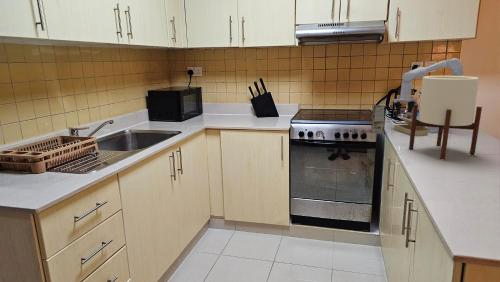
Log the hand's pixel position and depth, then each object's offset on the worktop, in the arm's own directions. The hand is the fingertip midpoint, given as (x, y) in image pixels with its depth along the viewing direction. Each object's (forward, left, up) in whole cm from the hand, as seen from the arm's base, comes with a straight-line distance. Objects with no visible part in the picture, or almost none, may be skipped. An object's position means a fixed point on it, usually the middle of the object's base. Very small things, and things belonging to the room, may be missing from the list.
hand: (403, 113), depth 216 cm
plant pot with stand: (+15, +52, -10) cm, 55 cm away
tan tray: (+2, +11, -10) cm, 15 cm away
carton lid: (+1, +11, -4) cm, 12 cm away
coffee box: (+20, +5, -10) cm, 23 cm away
